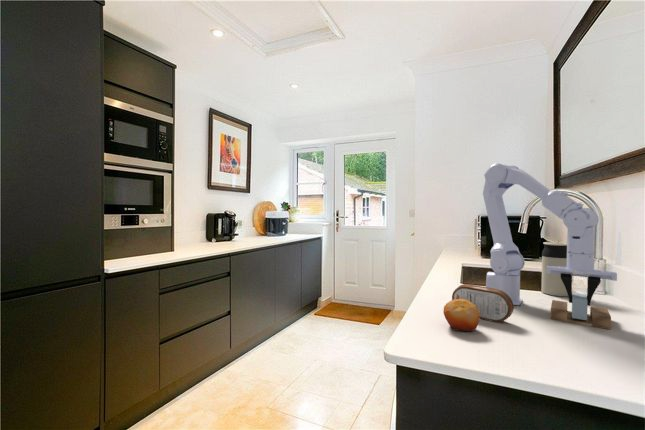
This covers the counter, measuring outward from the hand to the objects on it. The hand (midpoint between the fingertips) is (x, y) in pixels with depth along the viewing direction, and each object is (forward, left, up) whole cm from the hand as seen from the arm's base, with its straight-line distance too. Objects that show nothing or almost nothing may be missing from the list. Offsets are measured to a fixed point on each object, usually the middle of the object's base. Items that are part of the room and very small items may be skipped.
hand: (579, 303), depth 85 cm
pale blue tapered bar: (0, 0, -3) cm, 3 cm away
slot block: (0, 0, -4) cm, 4 cm away
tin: (-21, -16, -4) cm, 27 cm away
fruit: (-23, -28, -4) cm, 37 cm away
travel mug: (-6, +29, -4) cm, 30 cm away
